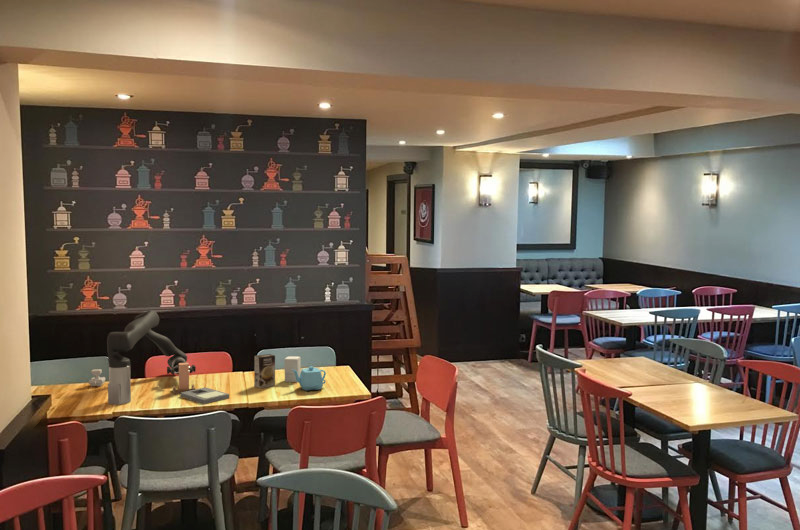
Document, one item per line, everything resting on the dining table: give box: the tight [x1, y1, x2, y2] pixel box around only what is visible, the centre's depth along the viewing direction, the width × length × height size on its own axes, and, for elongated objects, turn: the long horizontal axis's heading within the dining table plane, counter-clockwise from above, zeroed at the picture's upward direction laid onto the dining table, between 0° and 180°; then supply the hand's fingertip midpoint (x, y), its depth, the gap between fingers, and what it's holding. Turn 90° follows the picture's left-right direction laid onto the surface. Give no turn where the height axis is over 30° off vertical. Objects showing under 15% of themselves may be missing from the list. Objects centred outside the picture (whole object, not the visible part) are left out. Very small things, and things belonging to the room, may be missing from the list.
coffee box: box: [253, 353, 276, 389], centre depth 336 cm, size 9×6×16 cm
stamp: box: [88, 368, 106, 387], centre depth 334 cm, size 9×7×8 cm
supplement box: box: [283, 355, 302, 383], centre depth 349 cm, size 7×7×13 cm
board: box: [179, 387, 230, 405], centre depth 314 cm, size 20×14×2 cm
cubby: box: [172, 384, 196, 395], centre depth 325 cm, size 9×10×2 cm
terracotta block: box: [178, 362, 190, 390], centre depth 325 cm, size 4×4×14 cm
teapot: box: [292, 365, 327, 392], centre depth 331 cm, size 12×18×12 cm
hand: (182, 372), depth 332 cm, fingers open, 8 cm apart
